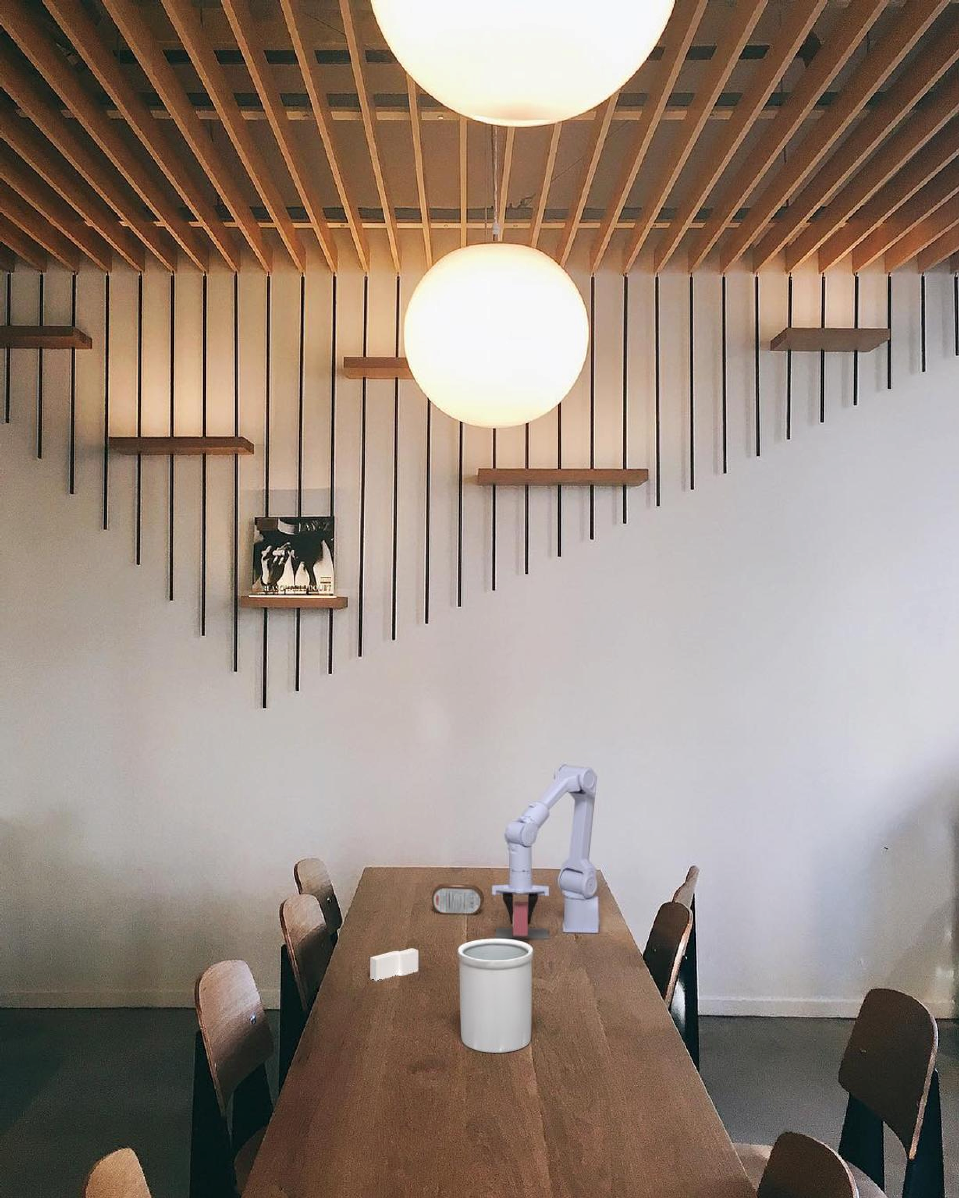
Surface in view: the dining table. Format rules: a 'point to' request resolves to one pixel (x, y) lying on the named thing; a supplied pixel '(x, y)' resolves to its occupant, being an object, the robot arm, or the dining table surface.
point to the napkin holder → (393, 964)
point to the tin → (457, 899)
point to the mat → (531, 935)
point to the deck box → (520, 919)
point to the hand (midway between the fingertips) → (520, 923)
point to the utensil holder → (495, 994)
